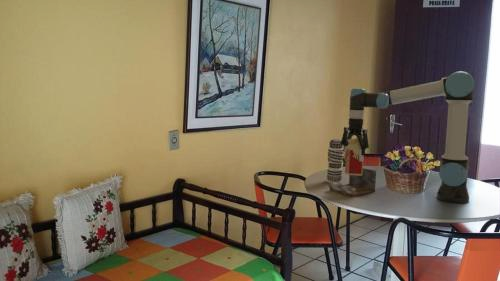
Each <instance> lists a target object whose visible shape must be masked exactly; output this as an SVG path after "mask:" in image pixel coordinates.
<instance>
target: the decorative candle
mask: <svg viewBox="0 0 500 281" xmlns="http://www.w3.org/2000/svg"><path fill="white" fill-rule="evenodd" d="M341 140H342V139H338V138H337V139H335V138H334V139H330V141H329V147H328V149H327V163H328V166H327V170H326V171H327V172H326V173H327V175H326V182H327V183H329V182H334V183H338V184H341V183H342V174H343V170H342V168H343V167H342V165H343V160H344V151H343V150H344V146H343V145H342V144H341Z"/></svg>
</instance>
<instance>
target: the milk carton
mask: <svg viewBox="0 0 500 281" xmlns="http://www.w3.org/2000/svg"><path fill="white" fill-rule="evenodd" d="M347 141H348V143H349V144H348V149H347V157H346V158H345V159H346V160H345V170H344V174H345V175H348V176H349V175H359V176H362V171H363V167H364V160H363V161H359V154H360V149H361V146H360V143H359V141H358V138H357V137H355V138H351V139H348V140H347Z"/></svg>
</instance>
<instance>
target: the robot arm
mask: <svg viewBox="0 0 500 281" xmlns="http://www.w3.org/2000/svg"><path fill="white" fill-rule="evenodd" d="M475 84H476V83H475V79H474V77H473V75H471V74H470V73H469V72H467V71H463V70H462V71H461V70H460V71H455V72H453V73H452V72H451V74H450V75H449V76H446V77H442V78H441V80H437V81H433V82H428V83H422V84H416V85H414V86H412V85H411V86H408V87H403V88H399V89H394V90H389V91H388V90H387V91H384V92H366V89H365V88H352V89H351V90H350V95H349V110H348V111H349V112H348V117H349V118H348V126H344V127H343V133H342V137H341V139H340V140H341V144H342V145H343V151H342V152H343V153H344V154H343V159H346V157H347V149H348V144H349V143H348V141H347V140H348V139H353V136H356V137H355V138H358V141H359V143H360V146H361V149H360V154H359V161H363V162H364V158H365V155H366V150H367V149H369V148H370V144H369V137H368V129H364V128H363V125H364V115H365V108H374V109H387V108H388V107H389V106H393V105H397V104H403V103H404V104H405V103H409V102H415V101H420V100H425V99H430V98H436V97H441V96H443V97H445V102H447V103H448V108H447V122H446V123H447V124H446V137H445V149H444V154H442V155H441V159H440V169H439V172H438V174H439V177H440V178H439V179H440V180H441V184H440V185H439V188H438V190H437V192H436V199H437V200H440V201H442V202H446V203H454V204H466V203H468V202H470V194H469V192H468V187H467V185H468V184H467V183H468V174H469V164H470V158H469V156H467V155H466V145H467V144H466V143H467V129H468V118H469V117H468V116H469V105H470V104H471V103H472V102H473V101H474V87H475Z"/></svg>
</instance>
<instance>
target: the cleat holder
mask: <svg viewBox="0 0 500 281" xmlns="http://www.w3.org/2000/svg"><path fill="white" fill-rule="evenodd" d="M348 177H349V180H348V183H346V184H341V183H334V182H328V185H329V186H328V188H329V191H331V192H334V193H338V194H341V195H345V196H348V197H352V198H356V197H358V196H359V197H360V196H363V195H366V194H371V193H375V191H376V181H377V170H376V169H373V168H367V167H364V166H363V171H362V176H359V175H348Z"/></svg>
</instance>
